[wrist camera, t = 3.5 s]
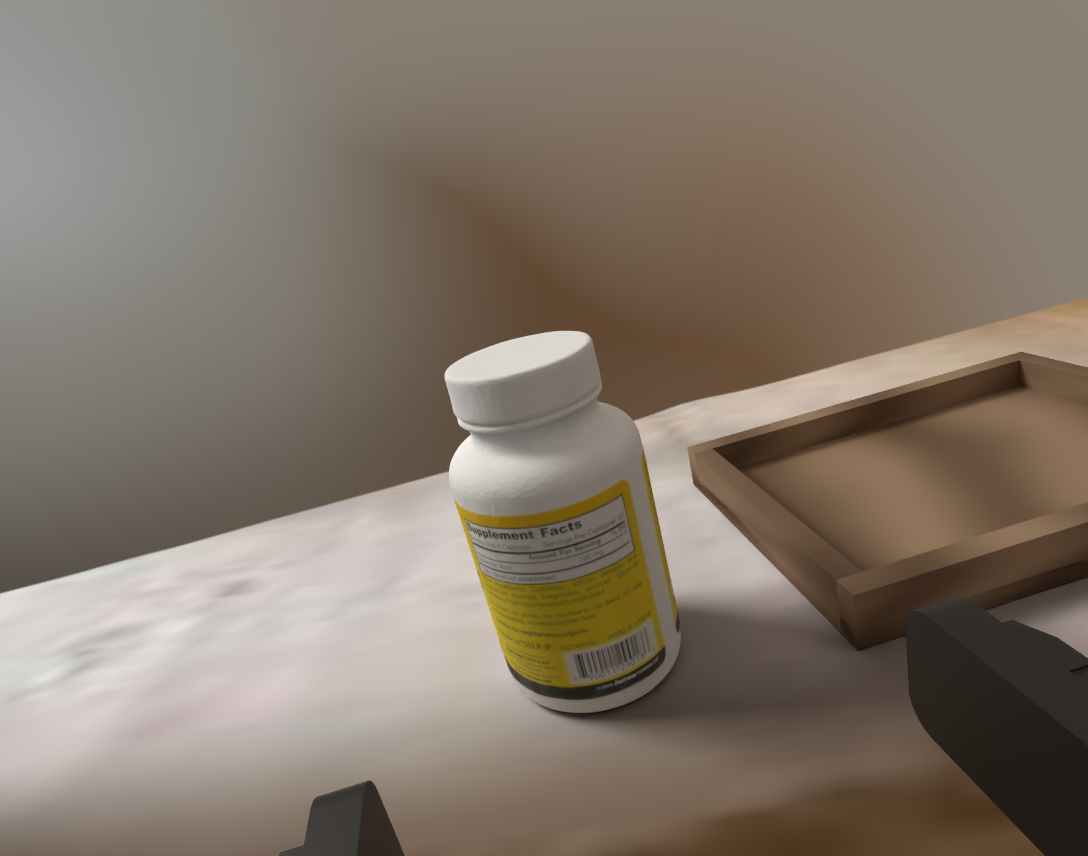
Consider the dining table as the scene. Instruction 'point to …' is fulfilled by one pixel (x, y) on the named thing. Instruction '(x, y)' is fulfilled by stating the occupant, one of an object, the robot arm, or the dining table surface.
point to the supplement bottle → (562, 524)
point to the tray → (917, 493)
